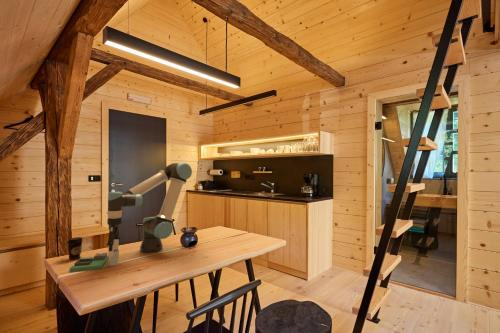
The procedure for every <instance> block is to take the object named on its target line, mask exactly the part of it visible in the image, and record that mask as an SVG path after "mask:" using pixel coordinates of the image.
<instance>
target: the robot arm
mask: <svg viewBox="0 0 500 333" xmlns="http://www.w3.org/2000/svg"><path fill="white" fill-rule="evenodd" d="M192 174H193V170H192V167H191V165H190V164H188V163H186V162H173V163H172V162H171V164H169V165H166V166H165V167H163V168H161V169H160V170H159V171H158V172H157V173H155V174H154V175H152V176H150V177H149V178H147V179H145V180H144V181H142V182H140V183H138V184H137V185H135V186H132V187H131V188H129V189H128V190H126V191H124V192H122V191H109V192H108V195H107V197H108V198H107V212H106V214H107V225H109V226H110V227H109V228H108V229H109V230H108V231H109V232H108V238H107V244H106V246H107V248H108V249H107V256H108V257H109V258H110V257H113V256H114V249H118V250H119V240H120V239H121V236H120V228H119V226H120V225H121V224H122V217H123V216H122V214H123V213H122V212H123V211H122V210H123V208H129V207H139V206H142V203H143V195H144V194H146V193H148V192H149V191H151V190H153V189H154V188H156V187H157V186H159V185H161V184H162V183H164V182H166V183H167V182H169V181H170V182H169V186H168V189H167V191H166V193H165V197H164V200H163V203H162V205H161V208H160V211H159V214H157V215H156V216H149V217H144V218H143V220H142V240H141V244H140V247H139V252H141V253H155V252H159V251H161V250H163V247H164V245H163V242H162V240H164V239H165V240H166V239H167V238H169V237H171V235H172V234H173V231H174V227H173V222H174V221H173V220H174V219H173V216H174V212H175V209H176V206H177V203H178V200H179V196H180V194H181V191H182V188H183V186H184V185H186V183H187V180H188V179H191V177H192Z"/></svg>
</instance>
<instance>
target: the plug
mask: <svg viewBox="0 0 500 333" xmlns="http://www.w3.org/2000/svg"><path fill="white" fill-rule="evenodd" d="M119 259H120V251H119V248H118V249H114V256H113V257H109V266H110V265H111V266H118V265H119Z"/></svg>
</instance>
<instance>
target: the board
mask: <svg viewBox="0 0 500 333" xmlns="http://www.w3.org/2000/svg"><path fill="white" fill-rule="evenodd" d="M108 261H110V257H108V252H97V253H95V254H94V256H92V257H90V256H89V257H81V258H80V259H77V260H75V262H74V263H73V264H72V265H71V267H70V268H69V273H72V272H73V273H74V272H83V271H84V272H86V271H95V270H97V271H98V270H103V268H104V267H105V265H106V264H108Z"/></svg>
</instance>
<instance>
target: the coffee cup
mask: <svg viewBox="0 0 500 333" xmlns="http://www.w3.org/2000/svg"><path fill="white" fill-rule="evenodd" d="M83 240H84V239H83V237H81V236H80V237H70V238H69V239H68V240H67V241H66V243H67V253H68V260H69V261H78V260H79V259H80V258H82V257H81V254H82V248H83V247H82V246H83V245H82V244H83V243H82V242H83Z"/></svg>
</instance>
